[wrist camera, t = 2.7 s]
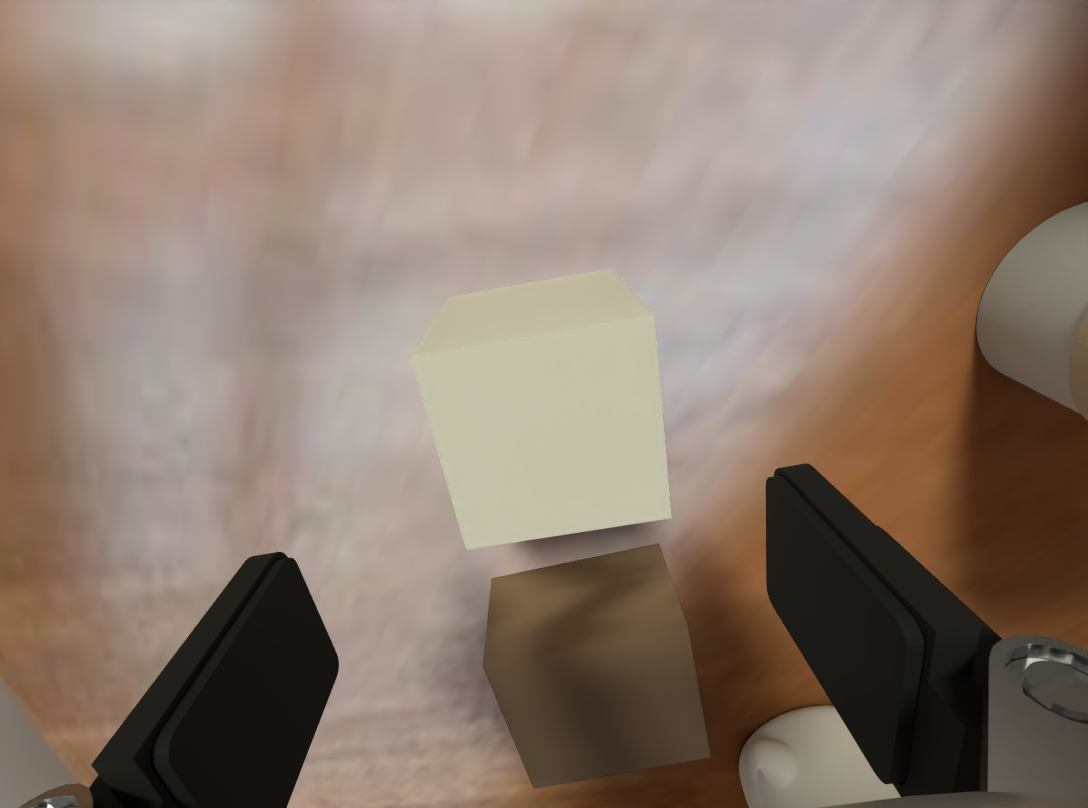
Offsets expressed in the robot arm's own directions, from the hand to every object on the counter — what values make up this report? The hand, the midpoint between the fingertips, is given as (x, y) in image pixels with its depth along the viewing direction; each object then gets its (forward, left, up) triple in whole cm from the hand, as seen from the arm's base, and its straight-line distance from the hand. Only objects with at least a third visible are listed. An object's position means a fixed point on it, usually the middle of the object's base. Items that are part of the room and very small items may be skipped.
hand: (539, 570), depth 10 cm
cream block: (0, -1, -11) cm, 11 cm away
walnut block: (0, +13, -11) cm, 18 cm away
